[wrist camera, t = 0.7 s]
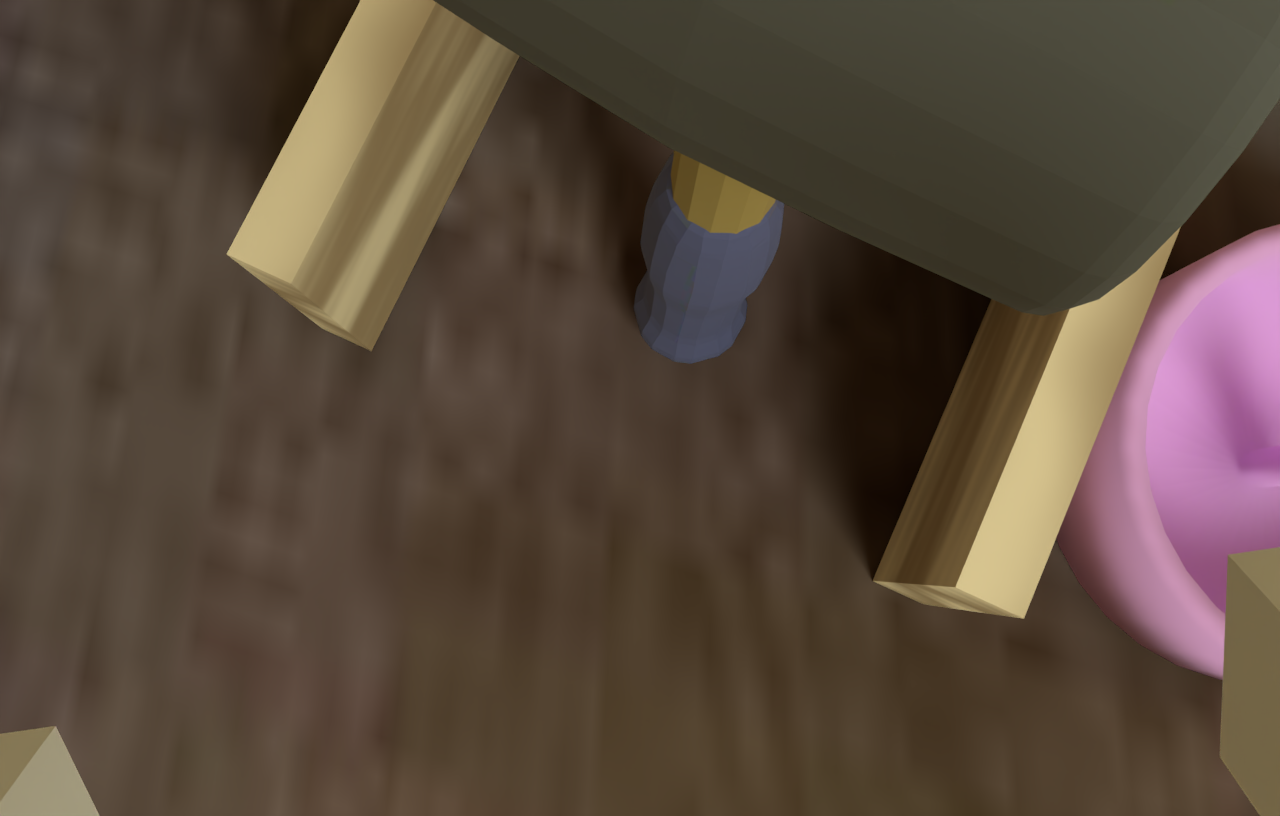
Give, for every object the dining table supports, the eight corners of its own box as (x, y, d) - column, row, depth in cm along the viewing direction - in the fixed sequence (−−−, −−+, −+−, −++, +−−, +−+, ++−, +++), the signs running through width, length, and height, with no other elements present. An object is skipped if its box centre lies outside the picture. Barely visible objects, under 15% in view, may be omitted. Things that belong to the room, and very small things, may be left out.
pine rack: (322, 328, 41) (226, 254, 31) (576, -170, 44) (563, -384, 34) (923, 604, 40) (1023, 618, 30) (1142, 75, 43) (1300, -71, 33)
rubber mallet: (882, 313, 41) (1556, -327, 12) (787, 489, 40) (1251, 285, 11) (591, 153, 42) (517, -842, 12) (490, 322, 41) (143, -310, 11)
